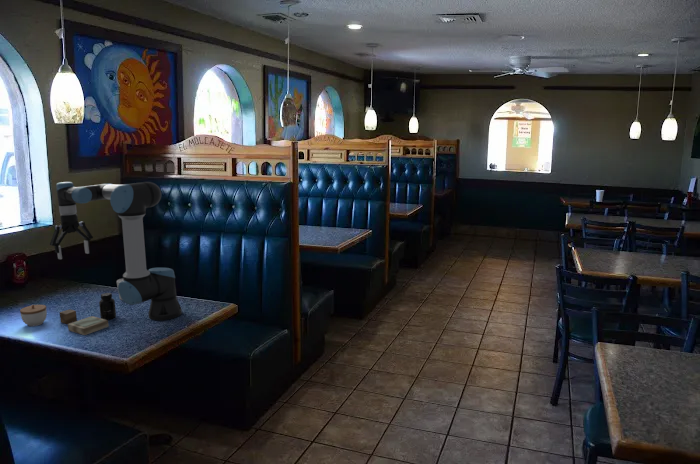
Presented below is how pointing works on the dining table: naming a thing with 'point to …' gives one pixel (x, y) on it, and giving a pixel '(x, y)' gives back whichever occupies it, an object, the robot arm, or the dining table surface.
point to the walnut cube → (68, 316)
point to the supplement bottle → (107, 306)
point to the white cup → (117, 286)
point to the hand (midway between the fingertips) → (74, 256)
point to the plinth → (88, 325)
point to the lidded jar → (34, 315)
